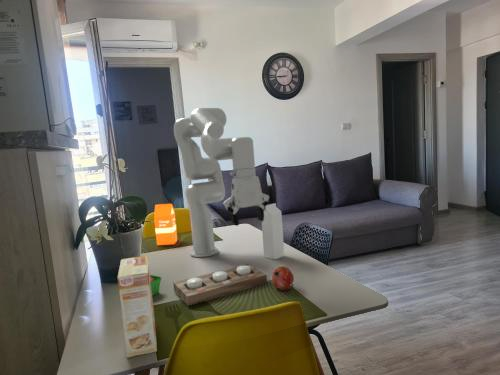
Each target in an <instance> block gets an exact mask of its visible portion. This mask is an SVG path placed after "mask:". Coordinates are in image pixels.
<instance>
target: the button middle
mask: <svg viewBox="0 0 500 375" xmlns="http://www.w3.org/2000/svg"><path fill="white" fill-rule="evenodd" d="M214 272H215V273H213V282H214V283H218V282H222V281H226V280H227V273H226V272H223V271H221V272H216V271H214Z"/></svg>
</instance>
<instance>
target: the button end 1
mask: <svg viewBox="0 0 500 375" xmlns="http://www.w3.org/2000/svg"><path fill="white" fill-rule="evenodd" d="M191 278H192V277H191ZM188 279H189V278H188ZM200 287H202V279H201V278H192V279H189V280H187V288H188V290H193V289H196V288H200Z"/></svg>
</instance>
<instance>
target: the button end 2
mask: <svg viewBox="0 0 500 375" xmlns="http://www.w3.org/2000/svg"><path fill="white" fill-rule="evenodd" d="M238 266H239V267H237V275H238V276H240V277H241V276H244V275H248V274H251V270H250V266H251V265H250V266H240V265H238Z"/></svg>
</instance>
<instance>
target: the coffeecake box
mask: <svg viewBox="0 0 500 375" xmlns="http://www.w3.org/2000/svg"><path fill="white" fill-rule="evenodd" d="M119 264H120V265H119V269H118V273H117V284H118V290H119V291H118V292H119V299H120V307H121V316H122V324H123V325H122V326H123V334H124V341H125V350H126V358H132V357H137V356H141V355H146V354H152V353H156V352H157V351H158V349H157V348H158V347H157V344H158V343H157V332H156V320H155V318H156V317H155V310H154V302H153V295H152V290H151V281H150V275H151V274H150V265H149V258H148V255H141V256H135V257H134V256H133V257H128V258H122V259H120V263H119Z"/></svg>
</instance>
